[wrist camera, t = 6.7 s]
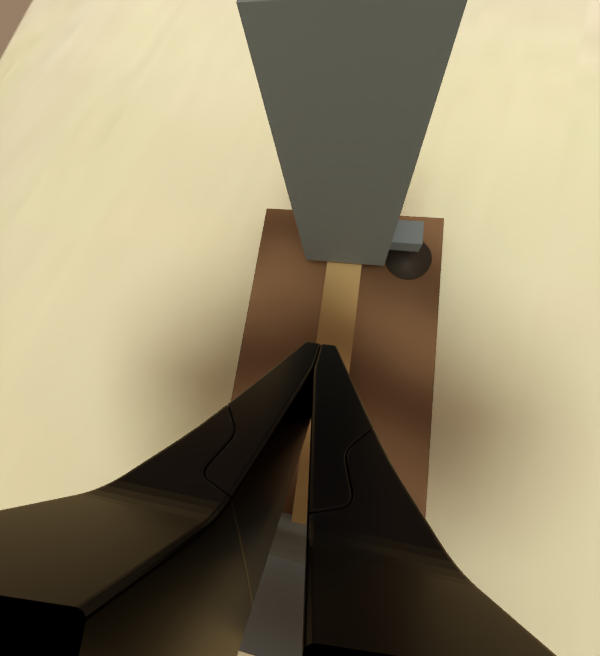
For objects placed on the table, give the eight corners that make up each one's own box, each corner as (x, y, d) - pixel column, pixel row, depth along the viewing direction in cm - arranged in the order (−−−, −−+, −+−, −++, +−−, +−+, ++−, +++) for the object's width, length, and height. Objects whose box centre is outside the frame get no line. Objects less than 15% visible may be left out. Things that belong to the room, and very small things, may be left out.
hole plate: (411, 615, 14) (449, 733, 9) (209, 563, 16) (147, 640, 11) (437, 229, 18) (473, 165, 13) (271, 219, 20) (246, 159, 15)
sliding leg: (415, 273, 16) (585, -17, 5) (307, 264, 17) (236, 2, 6) (419, 220, 17) (580, -150, 5) (314, 214, 17) (264, -112, 6)
